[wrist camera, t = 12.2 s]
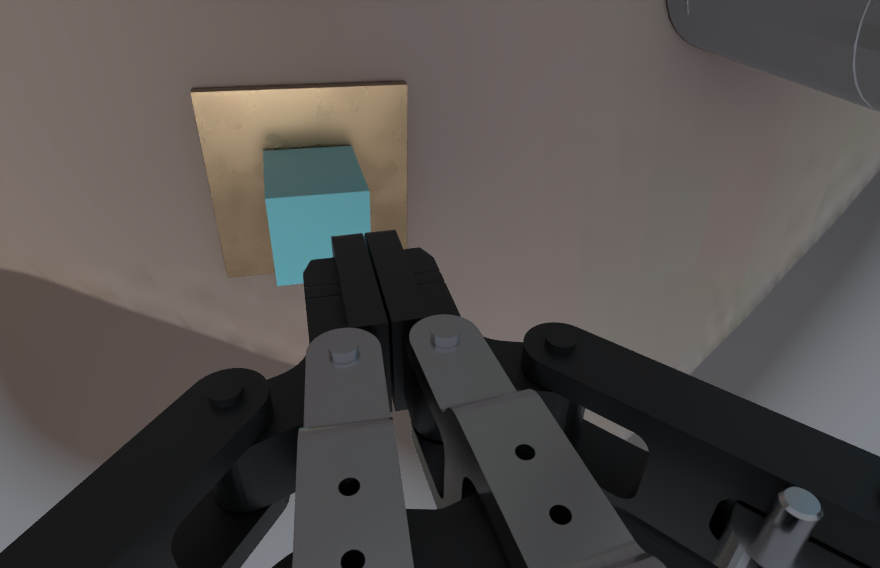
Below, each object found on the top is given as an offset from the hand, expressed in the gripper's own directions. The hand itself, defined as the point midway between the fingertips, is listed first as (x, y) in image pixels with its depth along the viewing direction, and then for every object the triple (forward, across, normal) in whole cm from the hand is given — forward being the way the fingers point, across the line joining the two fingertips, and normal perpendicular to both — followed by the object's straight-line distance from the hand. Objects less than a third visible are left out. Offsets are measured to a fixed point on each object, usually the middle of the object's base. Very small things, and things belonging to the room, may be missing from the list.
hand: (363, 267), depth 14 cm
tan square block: (+23, 0, +8) cm, 25 cm away
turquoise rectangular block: (+22, +1, +8) cm, 24 cm away
